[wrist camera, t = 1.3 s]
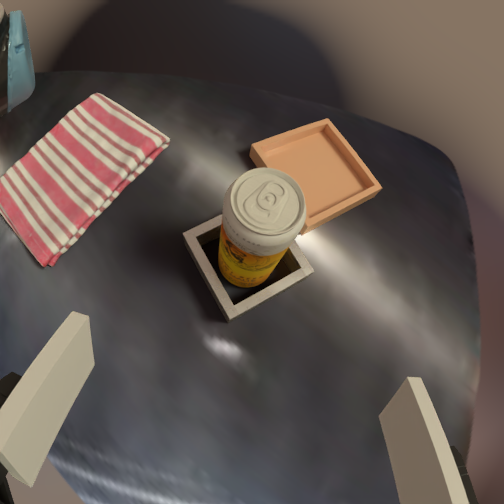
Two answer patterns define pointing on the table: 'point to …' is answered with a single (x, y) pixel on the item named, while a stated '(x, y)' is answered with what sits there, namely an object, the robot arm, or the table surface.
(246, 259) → the beer can
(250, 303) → the frame
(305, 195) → the serving tray
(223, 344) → the table surface
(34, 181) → the dish towel
